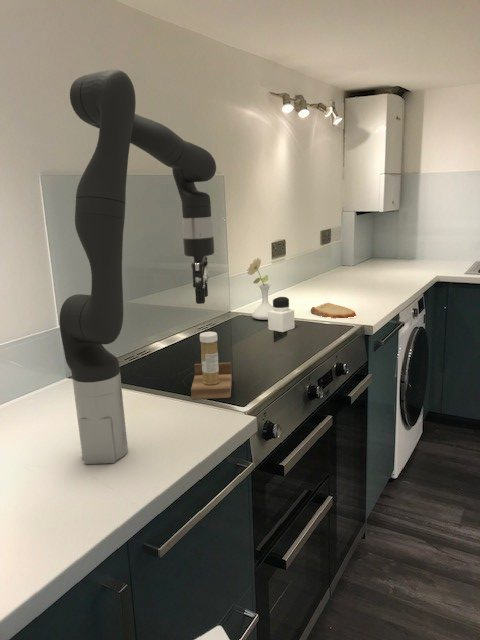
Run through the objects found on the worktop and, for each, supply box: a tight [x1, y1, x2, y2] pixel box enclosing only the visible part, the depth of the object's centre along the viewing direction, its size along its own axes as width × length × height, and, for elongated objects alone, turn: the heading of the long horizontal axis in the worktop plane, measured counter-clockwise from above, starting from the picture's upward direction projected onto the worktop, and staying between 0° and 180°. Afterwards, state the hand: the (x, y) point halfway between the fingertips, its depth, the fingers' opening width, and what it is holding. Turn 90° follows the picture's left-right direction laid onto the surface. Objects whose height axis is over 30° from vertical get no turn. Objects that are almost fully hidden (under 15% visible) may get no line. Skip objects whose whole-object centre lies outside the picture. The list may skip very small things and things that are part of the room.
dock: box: [190, 361, 233, 400], centre depth 144 cm, size 12×10×6 cm
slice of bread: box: [310, 302, 357, 319], centre depth 222 cm, size 18×18×4 cm
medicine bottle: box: [267, 296, 296, 333], centre depth 201 cm, size 7×7×12 cm
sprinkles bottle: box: [199, 331, 219, 385], centre depth 141 cm, size 5×5×13 cm
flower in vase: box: [247, 257, 274, 321], centre depth 216 cm, size 13×11×25 cm
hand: (202, 300), depth 138 cm, fingers open, 8 cm apart
